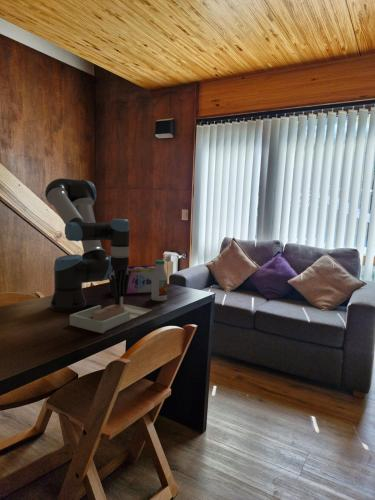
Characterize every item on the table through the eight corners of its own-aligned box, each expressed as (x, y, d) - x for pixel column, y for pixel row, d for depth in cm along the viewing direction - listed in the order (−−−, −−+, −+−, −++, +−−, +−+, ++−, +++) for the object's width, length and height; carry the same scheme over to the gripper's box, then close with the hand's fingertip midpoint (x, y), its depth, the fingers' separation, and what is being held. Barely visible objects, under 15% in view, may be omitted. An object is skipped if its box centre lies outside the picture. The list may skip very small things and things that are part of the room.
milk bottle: (152, 301, 170) (153, 261, 167) (150, 297, 177) (151, 259, 175) (168, 301, 172) (169, 261, 169) (164, 297, 179) (166, 259, 177)
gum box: (156, 288, 198) (157, 265, 197) (161, 291, 191) (161, 267, 190) (115, 291, 189) (115, 266, 188) (117, 294, 182) (118, 269, 180)
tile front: (103, 318, 142) (103, 308, 142) (114, 320, 139) (114, 311, 139) (93, 322, 137) (93, 312, 136) (104, 324, 134) (104, 314, 134)
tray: (98, 314, 147) (98, 305, 147) (129, 321, 140) (130, 311, 139) (69, 324, 133) (69, 314, 133) (102, 333, 126) (102, 322, 125)
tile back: (112, 313, 147) (112, 304, 147) (124, 316, 145) (124, 306, 144) (103, 317, 142) (103, 308, 141) (114, 320, 139) (115, 310, 139)
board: (124, 305, 162) (124, 304, 162) (152, 310, 155) (152, 309, 155) (99, 314, 147) (99, 313, 147) (129, 321, 140) (129, 320, 140)
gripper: (122, 253, 151) (121, 306, 154) (102, 257, 139) (102, 313, 142) (136, 255, 148) (135, 309, 150) (117, 259, 136) (116, 317, 139)
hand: (119, 311), depth 146 cm, fingers closed
